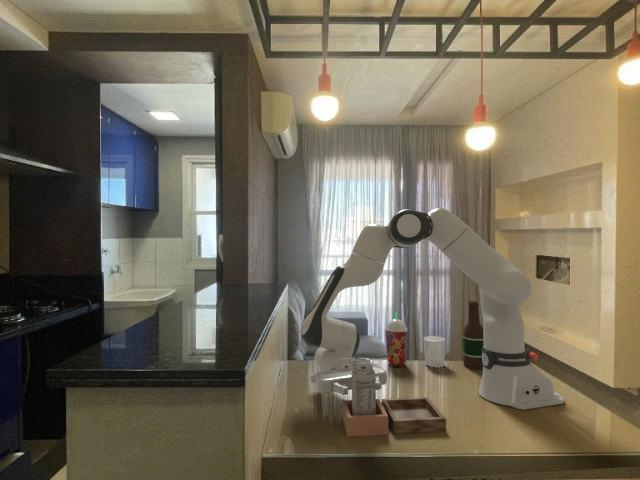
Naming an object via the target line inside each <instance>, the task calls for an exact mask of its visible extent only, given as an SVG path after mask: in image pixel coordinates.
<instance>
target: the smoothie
mask: <svg viewBox="0 0 640 480" xmlns="http://www.w3.org/2000/svg"><path fill="white" fill-rule="evenodd" d="M384 330H385V333H384V334H385V343H386V355H387V357H386V358H387V362H388V365H389V364H390V366H391V365H392V366H391V367H394V366H402V367H404V366H405V363H406V362H407V361H406V360H407V343H408V328H407V326H406V324H405V323H404V321H403V320H402V319H398V312H397V311H394V318H393V319H391V320H390V321H388V323H387V324H386V326H385V328H384ZM403 365H404V366H403Z"/></svg>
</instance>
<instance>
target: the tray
mask: <svg viewBox="0 0 640 480" xmlns="http://www.w3.org/2000/svg"><path fill="white" fill-rule="evenodd" d="M381 404H382V406H383V407H384V409H385V411H386V413H387V415H388V426H390V428H391V430H392V433H393V434H408V433H409V434H411V433H412V434H413V433H429V432H430V433H431V432H435V433H436V432H447V417H445V416H444V414H442V412H440V410H439V409H438V408H437V407H436V405H435V404H434V403H433V402H432V401H431V400H430V398H429V397H428V396H425V397H424V396H423V397H421V396H419V397H400V398H399V397H398V398H394V397H393V398H381Z"/></svg>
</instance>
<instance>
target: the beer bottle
mask: <svg viewBox="0 0 640 480" xmlns="http://www.w3.org/2000/svg"><path fill="white" fill-rule="evenodd" d="M467 305H468V317H467V318H468V319H467V324H465V325H464V328H463V330H462V331H463V332H462V356H463V357H462V359H463V360H462V361H463V366H464V367H466V368H467V369H471V370H483V363H482V347H483V346H484V338H483V325H482V324H481V322H480V313H479V305H480V304H479V301H476V300H475V301H473V300H472V301H468V303H467Z"/></svg>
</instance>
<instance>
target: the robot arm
mask: <svg viewBox="0 0 640 480" xmlns="http://www.w3.org/2000/svg"><path fill="white" fill-rule="evenodd" d="M356 239H357V240H355V243H354V246H353V248H352V251H351V254H350V256H349V258H348V259H347V260H346V262H344V264H342V265H340V266H339V265H338V266H337V267H335V269H334V270H333V271H332V273H331V274H330V276H329V278H328V279H327V281H326V283H325V285H324V286H323V288H322V289H321V292H320V294H319V295H318V297H317V299H316V301H315V303H314V304H313V306H312V308H311V309H310V311H309V313H307V315H306V316H305V318H304V320H303V322H302V325H301V327H300V332H299V333H300V336H301V338H302V340H303V342H304V343H305V345H306V346H308V347H314V348H317V350H316V351H315V353H314V362H315V367H316V368H317V370H318V371H317V372H315V374H313V375H312V376H310V377H309V379H310V381H311V383H314V387H315V389H316V392H318V393H319V394H323V395H325V394H330V393H331V394H332V393H338V394H340V395H342V396H346V395H349V390H351V391H352V371H353V369H354V365H356V364H370V365H372V366H373V370H374V372H375V383H376V391H378V390H382V386H384V385H386V384H387V383H388V371H386V369H385V368H384V367H382V365H381V366H380V365H378V364H377V363H375V362H371V359H370V358H369V357H356V356H355V355H356V354H357V352H358V350H359V346H360V342H361V338H360V333H359V330H358V327H357V326H356V324H355V323H351V322H348V321H347V320H346V321H345V320H343V319H342V320H341V319H338V318H333V317H331V316H328V313H329V311H330V309H331V307H332V306H333V304H334V302H335V300H336V298H337V296H338V295H339V294H340V293H341V292H342V291H344V290H345V289H348V288H355V287H367V286H370V285H372V284H374V283H376V282H377V281H379V278H380V277H381V276H382V273H383V270H384V268H385V264H386V261H387V259H388V256H389V255H390V254H389V253H390V252H391V250H392V249H394V248H400V249H406V248H407V249H408V248H411V247H414V246H416V245H417V244H419V243H420V242H422V241H423V240H426V241H429V242H430V243H432V244H433V245H435V246H436V248H437V249H438V250H439V251H441V252H442V254H443V255H444V256H446V257H447V259H448V260H450V261H451V262H452V263H453V264H454V265H455V266H456V267H457V268H458V269H459V270H460V271H462V272H463V273H464V274H465V276H467V277H468V278H469V279H470V280H471V281H472V282H474V283H475V285H477V286H478V287H479V289H478V290H479V298H480V308H481V315H482V327H483V338H484V346H483V347H482V363H483V369H482V376H481V380H480V386H479V388H478V389H479V390H478V395H479V396H480V397H482V398H484V399H485V400H487V401H489V402H493V403H496V404H498V405H504V406H509V407H512V408H515V409H518V410H523V411H525V410H530V409H531V410H532V409H538V408H544V407H550V406H555V405H563V404H564V402H565V401H564V397H562V395H560V394H559V393H558V392H556V391H555V390H554V389H555V388H554V385H553V381H552V379H551V378H550V376H548V374H546V373H545V372H543V371H542V370H541V369H540V368H538V367H537V366H535V365H534V364H533V362H532V361H535V362H536V361H538V359H539V355H538V354H537V353H535V352H533V351H531V352H529V351H528V350H527V349H526V348H525V323H524V319H523V316H522V312H521V308H520V307H521V305H522V304H523V303H525V302H526V301H528V300H529V298H530V296H531V294H532V290H533V289H532V283H531V281H530V279H529V278H528V277H527V275H526V274H525V273H524V272H523V271H522V270H520V269H519V268H518V267H517V266H515V265H514V264H513V263H512V262H511V261H510V260H508V259H507V258H506V257H504V255H502V254H501V253H500V252H498V251H497V250H496V249H495V248H493V247H492V246H491V245H490V244H488V243H487V242H486V241H485V240H484V239H483V238H482V237H481V236H480V235H478V233H476V232H475V231H474V230H473V229H472V228H471V227H470V226H469V225H468V224H466V223H465V221H463V220H462V219H460V218H459V216H457V215H455V214H454V213H453V212H451V211H449V210H448V209H446V208H443V207H437V208H433V209H431V211H429V212H428V213H427V212H422V211H418V210H414V209H410V208H408V209H402V210H399V211H397V212H396V213H395V214H394V215H393V216H392V218H390V221H389V223H388V224H386V225H381V224H376V223H371V224H370V223H368V224H366V225H365V226H364V227H363V229H362V230H361V231H360V233H359V236H358V237H357V238H356ZM531 360H532V361H531Z"/></svg>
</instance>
